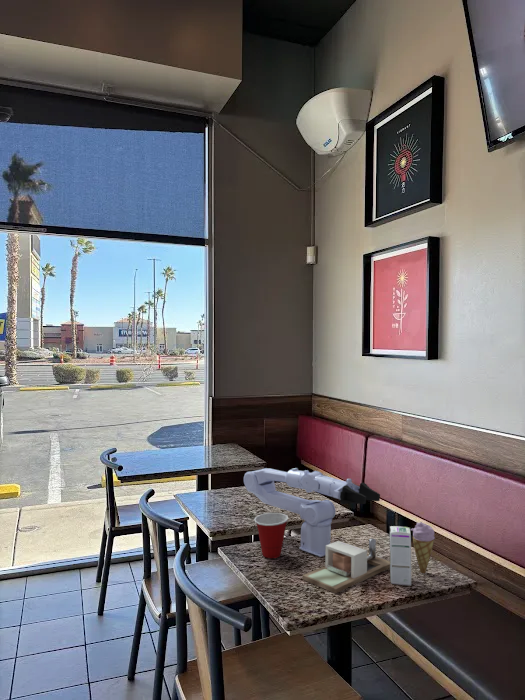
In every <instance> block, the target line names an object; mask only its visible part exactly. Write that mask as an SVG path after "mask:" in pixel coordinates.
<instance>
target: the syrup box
mask: <svg viewBox="0 0 525 700" xmlns="http://www.w3.org/2000/svg"><path fill="white" fill-rule="evenodd" d="M410 530H411V527H408V526H400V525H397V526H395V525H393V526H392V525H391V526H390V525H389V561H390V568H389V570H390V571H389V574H390V575H389V578H390V583H391V584H393V585H400V586H412V535H411V531H410Z"/></svg>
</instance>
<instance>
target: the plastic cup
mask: <svg viewBox="0 0 525 700" xmlns="http://www.w3.org/2000/svg"><path fill="white" fill-rule="evenodd" d="M288 520H289V516H288V515H287V514H284V513H282V512H267V513H266V512H265V513H261V514H259V515H257V516H255V517H254V519H253V521H254V522H255V524H256V528H257V531H258V532H257V533H258V537H259V542H260V543H259V544H260V548H261V554H262V556H263V557H265V558H266V559H277V558H279V557H281V554H282V551H283V545H284V540H285V534H286V527H287V524H288V523H287V522H288Z"/></svg>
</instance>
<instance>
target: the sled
mask: <svg viewBox="0 0 525 700" xmlns="http://www.w3.org/2000/svg"><path fill="white" fill-rule="evenodd" d="M376 541H377V539H376V538H373V537H371V538H369V539H368V554H369V556H367V561H368V560H370V559H372V558H376V557H377V556H376V553H377V549H376V548H377V547H376V545H377V544H376V543H377V542H376ZM327 569H328V570H330V571H333V572H336V573H338V574H341V575H343V576H348V575H350V574H351V569H350V570H347V571H344V570H341V569H339V568H336V567H333V565H327Z"/></svg>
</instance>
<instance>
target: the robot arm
mask: <svg viewBox="0 0 525 700" xmlns="http://www.w3.org/2000/svg"><path fill="white" fill-rule="evenodd" d="M352 481H353V480H352V478H346V480H341V479H338V478H335V477H331V476H327V475H324V474H323V473H322V472H321V471H318V470H315V471H312V472H310V471H309V470H308V469H307V470H306V469H305V470H299V468H298V467H295V468H291V469H289V470H288V471H284V470H279V469H274V468H267V467H264V468H262V469H256V470H252V471H246V472H245V473H244V476H243V484H244V486H245V489H246V491H247V492H248V493H251V494H253V495H254V496H255V497H256V498H258V500H260V501H261V502H262V503H263V504H265V505H269V506H272V507H275V508H277V509H280V510H281V509H282V510H284V511H288V512H291V513H294V514H297V515H299V516H300V517H299V518H300V519H301V520H304V522H302V524H301V527H300V546H299V547H298V549H299V550H301V551H304V552H305V553H309V554H311V555H314V556H316V557H321V558H322V557H324V556H325V548H326V545H328V544H331V543H332V542H331V538H332V537H331V534H332V533H331V532H332V529H331V527H332V526H331V525H332V521H333V518H334V517H335V516H336V512H337V511H336V507H335V504H334V503H333V501H331V500H330V499H324V500H318V499H313V500H312V499H306V498H303V497H300V496H295V495H292V494H289V493H285V492H283V491H277V490H276V484H275V482H280V483H281V482H283V483H286V485H287V486H288V487H291V488H295V489H300V490H301V489H302V490H305V492H306V493H313V492H316V493H319V494H322V495H325V496H328V497H331V498H334V499H338V500H339V502H340V505H347V504H356V505H357V504H359V505H366V503H367V501H371V502H380V501H381V500H380V499H381V494H380V493H379V492H377V491H375V490H373V489H372V488H370V486H369V485H368V484H367V483H365V482H360V484H359V485H357V484H355V483H353V482H352Z"/></svg>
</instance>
